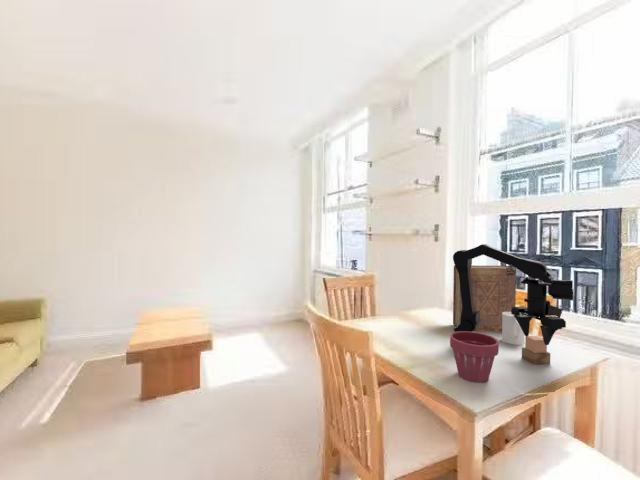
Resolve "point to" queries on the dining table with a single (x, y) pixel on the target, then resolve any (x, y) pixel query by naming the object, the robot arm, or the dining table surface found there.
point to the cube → (535, 344)
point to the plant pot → (474, 354)
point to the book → (487, 295)
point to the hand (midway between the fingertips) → (536, 340)
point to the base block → (536, 357)
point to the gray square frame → (532, 364)
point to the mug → (511, 330)
